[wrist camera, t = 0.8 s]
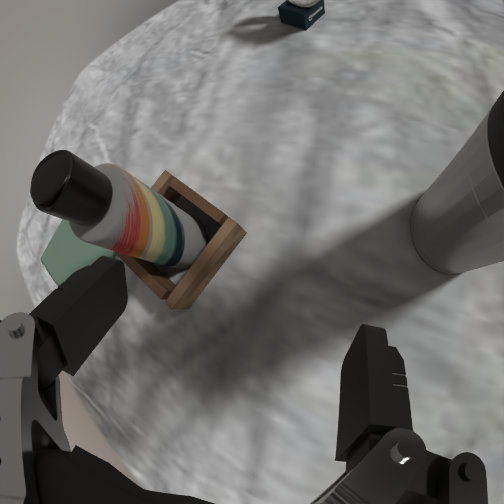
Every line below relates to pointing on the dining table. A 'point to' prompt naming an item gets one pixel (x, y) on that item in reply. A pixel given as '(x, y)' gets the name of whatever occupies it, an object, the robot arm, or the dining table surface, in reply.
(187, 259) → the lotion bottle
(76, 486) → the robot arm
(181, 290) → the walnut holder
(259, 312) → the dining table surface
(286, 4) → the watch
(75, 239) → the sage mat
